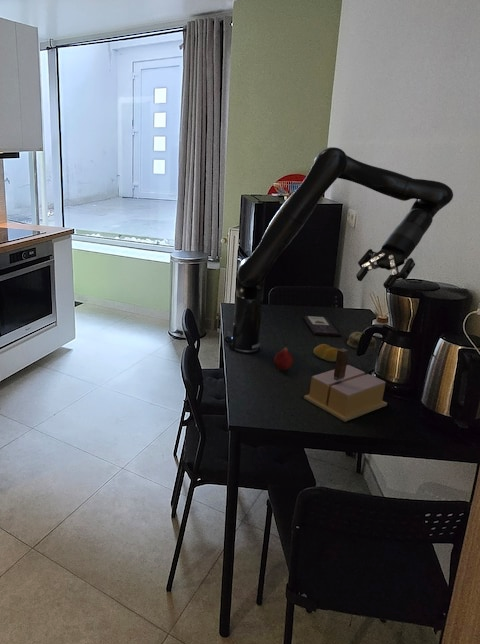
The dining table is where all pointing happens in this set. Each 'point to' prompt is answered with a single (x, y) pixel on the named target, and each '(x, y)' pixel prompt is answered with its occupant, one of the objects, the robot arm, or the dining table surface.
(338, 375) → the cake knife
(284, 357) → the onion
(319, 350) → the bread roll
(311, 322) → the chocolate bar
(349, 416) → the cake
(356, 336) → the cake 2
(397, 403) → the dining table surface
